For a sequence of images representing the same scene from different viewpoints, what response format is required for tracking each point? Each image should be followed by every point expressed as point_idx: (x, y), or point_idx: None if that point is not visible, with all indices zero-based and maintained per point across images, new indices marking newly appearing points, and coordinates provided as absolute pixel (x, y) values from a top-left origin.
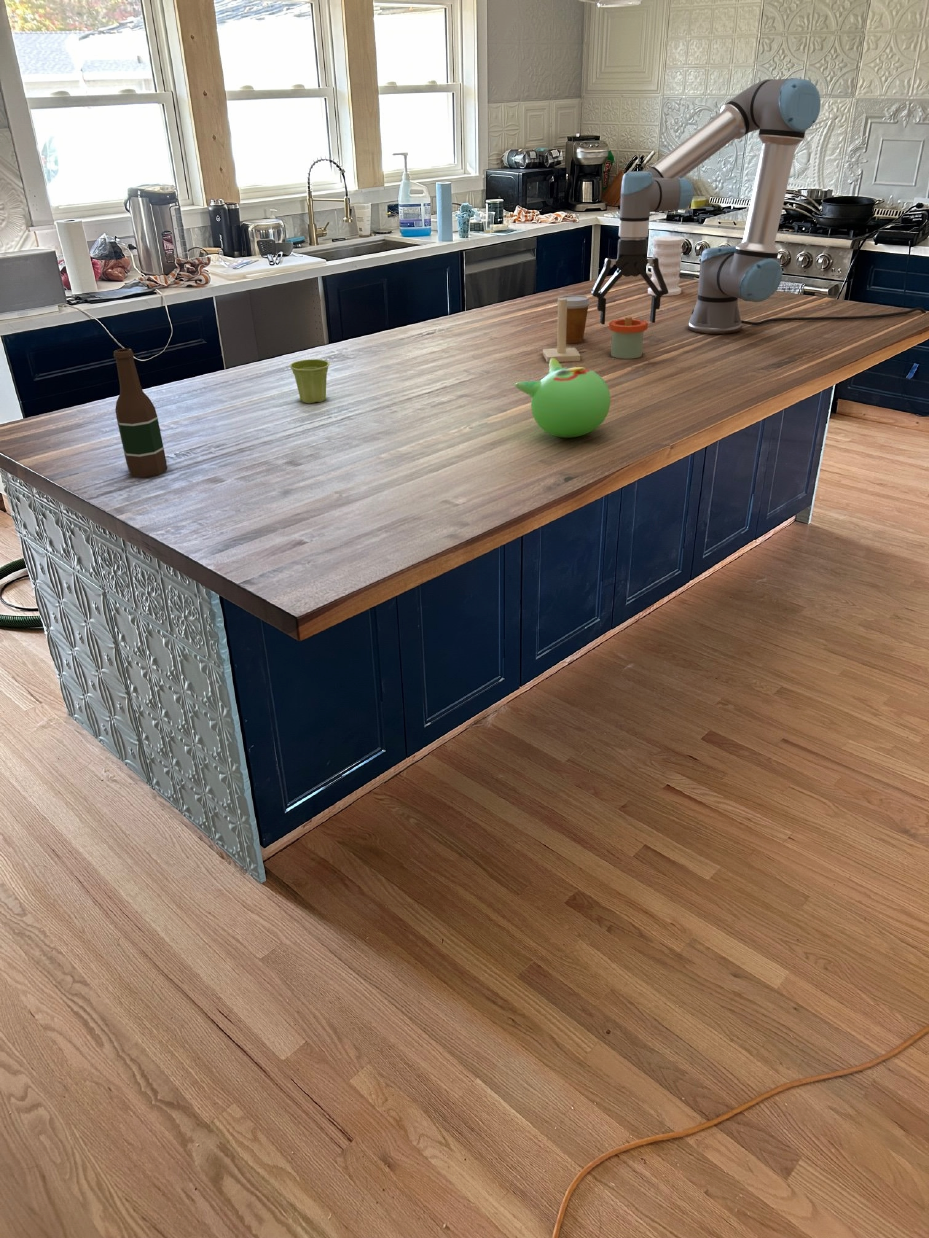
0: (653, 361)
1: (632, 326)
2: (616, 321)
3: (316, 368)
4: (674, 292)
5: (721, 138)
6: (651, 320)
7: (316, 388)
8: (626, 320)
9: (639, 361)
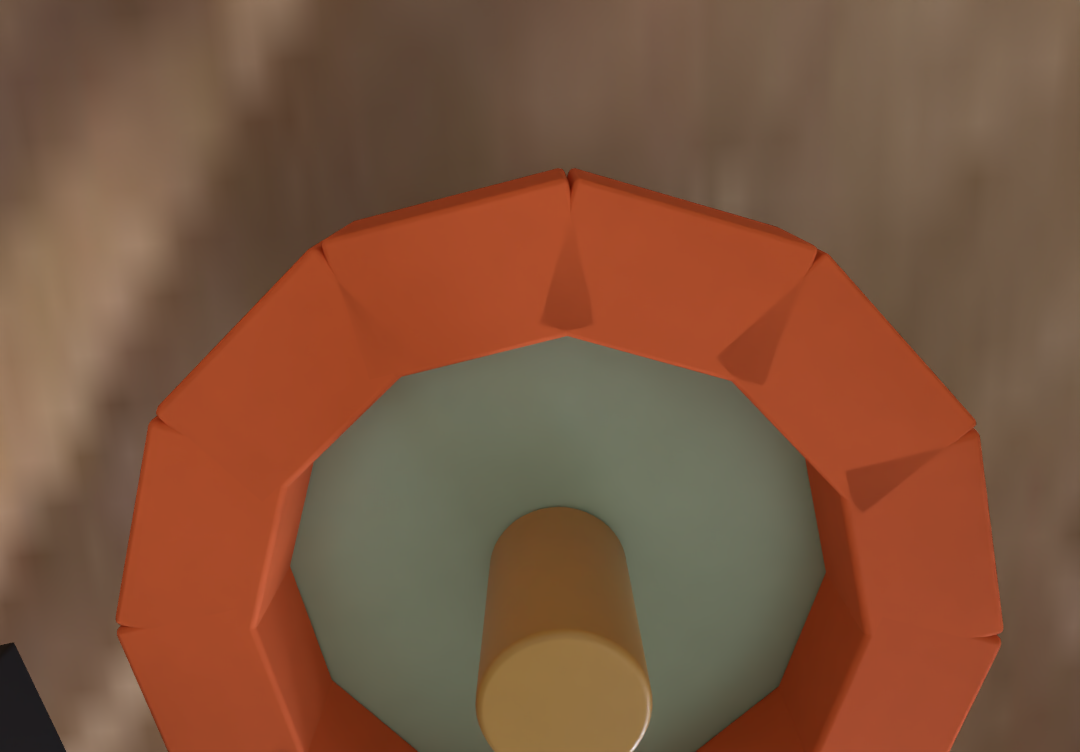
0: (156, 84)
1: (437, 242)
2: (831, 734)
3: None
4: None
5: None
6: (27, 742)
7: None
8: (611, 615)
9: (352, 68)
